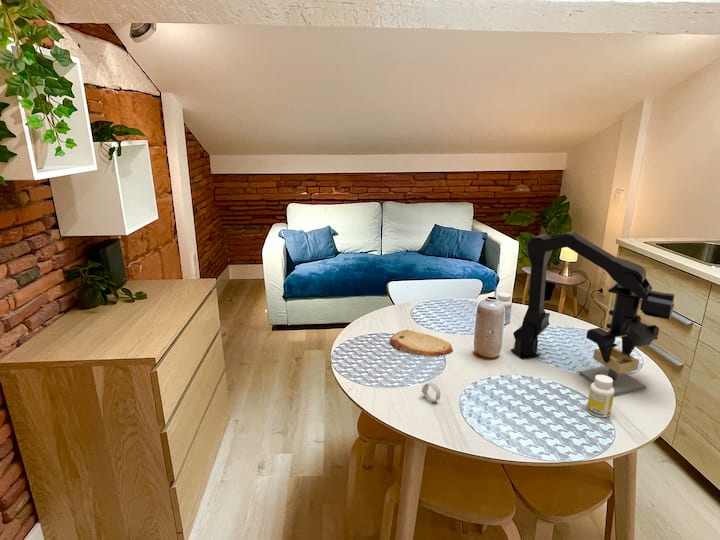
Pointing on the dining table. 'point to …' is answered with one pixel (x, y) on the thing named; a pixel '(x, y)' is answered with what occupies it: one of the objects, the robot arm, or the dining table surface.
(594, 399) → the supplement bottle
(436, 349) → the bread slice
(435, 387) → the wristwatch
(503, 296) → the pill bottle
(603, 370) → the keeper plate
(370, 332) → the dining table surface
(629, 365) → the wooden tray box
